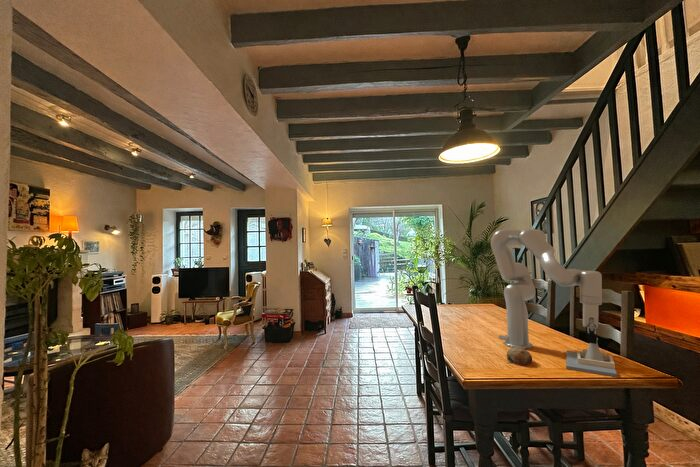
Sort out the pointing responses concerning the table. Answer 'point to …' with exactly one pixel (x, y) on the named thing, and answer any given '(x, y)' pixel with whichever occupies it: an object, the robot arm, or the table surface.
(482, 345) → the table surface
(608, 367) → the dock board
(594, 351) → the flask
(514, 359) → the bread roll
